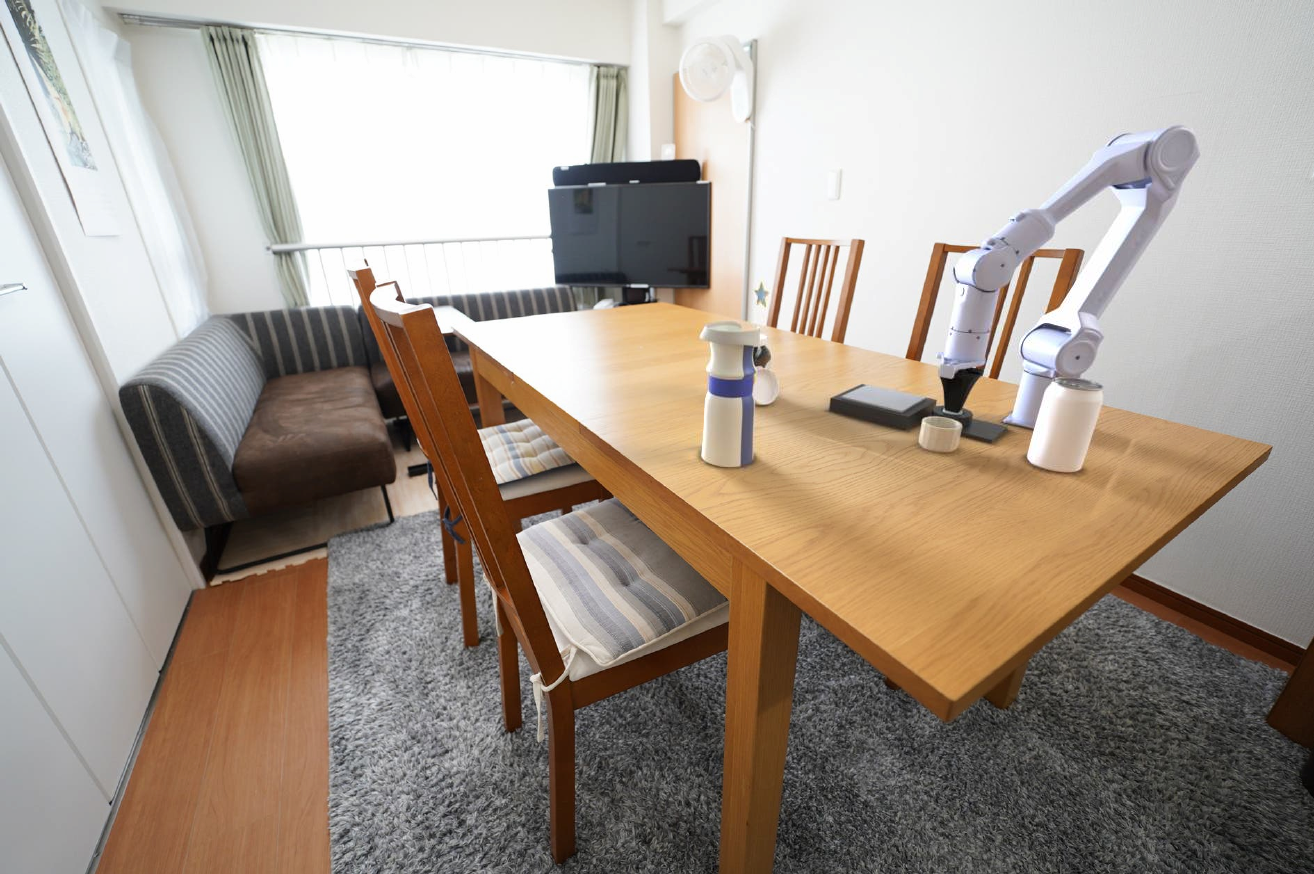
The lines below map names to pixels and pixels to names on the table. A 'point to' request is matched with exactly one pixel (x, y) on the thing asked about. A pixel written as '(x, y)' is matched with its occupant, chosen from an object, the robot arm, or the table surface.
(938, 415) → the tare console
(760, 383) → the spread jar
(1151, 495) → the table surface
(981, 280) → the robot arm
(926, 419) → the bowl
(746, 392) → the water bottle
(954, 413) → the button
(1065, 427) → the can
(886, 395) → the scale
